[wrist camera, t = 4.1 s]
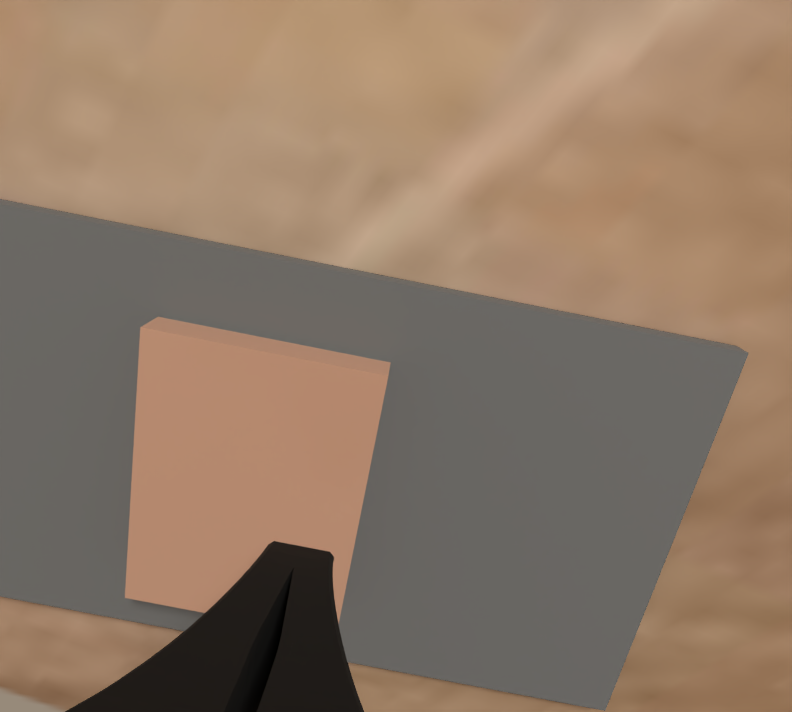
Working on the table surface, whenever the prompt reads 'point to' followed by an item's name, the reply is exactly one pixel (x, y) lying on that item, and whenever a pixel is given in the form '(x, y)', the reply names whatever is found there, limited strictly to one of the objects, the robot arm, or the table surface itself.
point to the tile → (243, 457)
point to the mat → (393, 451)
